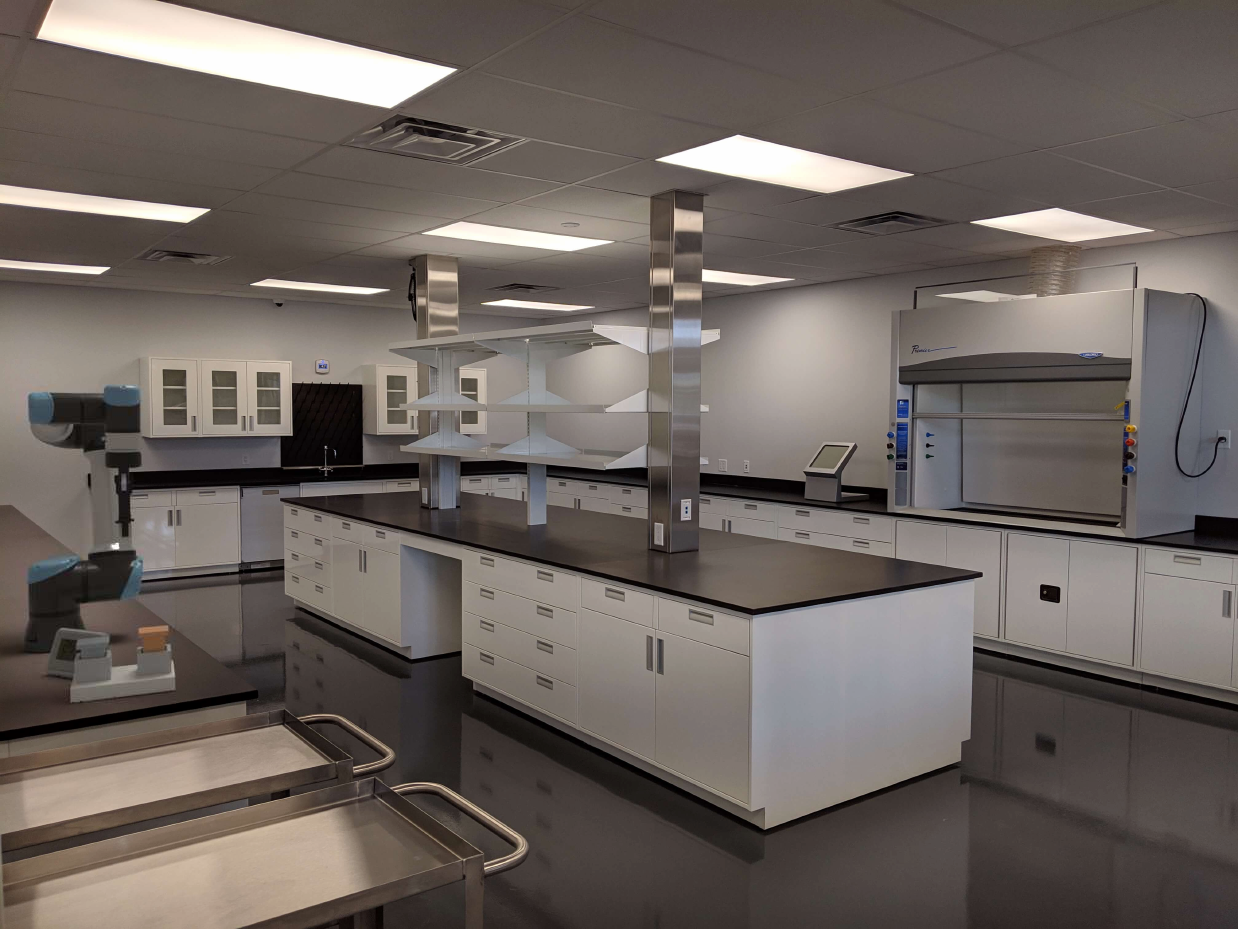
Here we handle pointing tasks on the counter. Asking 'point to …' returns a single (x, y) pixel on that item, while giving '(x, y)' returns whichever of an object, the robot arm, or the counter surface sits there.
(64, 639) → the digital clock
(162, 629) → the orange plunger
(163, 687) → the button console
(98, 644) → the grey plunger
